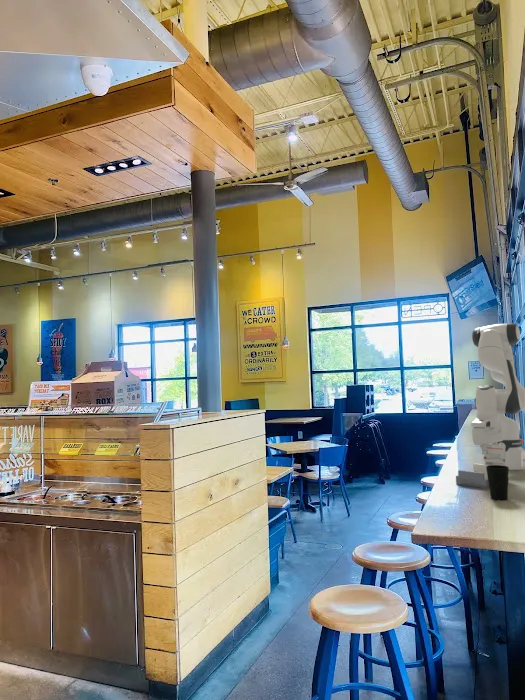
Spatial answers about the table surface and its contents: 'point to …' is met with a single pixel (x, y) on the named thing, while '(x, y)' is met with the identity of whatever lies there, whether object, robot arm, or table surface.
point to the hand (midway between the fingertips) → (489, 453)
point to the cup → (498, 481)
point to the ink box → (494, 455)
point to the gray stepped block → (472, 479)
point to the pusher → (481, 469)
